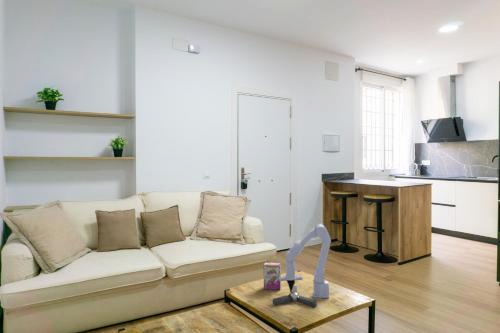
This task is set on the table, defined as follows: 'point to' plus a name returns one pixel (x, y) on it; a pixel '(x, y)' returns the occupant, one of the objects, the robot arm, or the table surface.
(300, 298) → the stool base
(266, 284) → the candy bar box
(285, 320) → the table surface
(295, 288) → the folding foot
